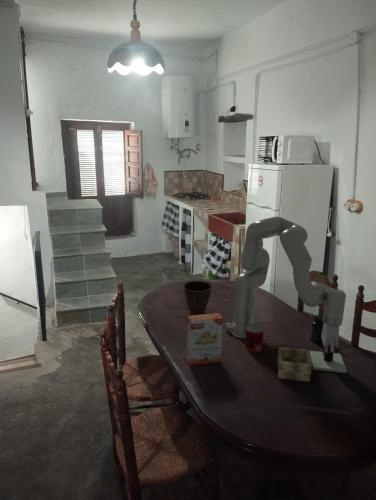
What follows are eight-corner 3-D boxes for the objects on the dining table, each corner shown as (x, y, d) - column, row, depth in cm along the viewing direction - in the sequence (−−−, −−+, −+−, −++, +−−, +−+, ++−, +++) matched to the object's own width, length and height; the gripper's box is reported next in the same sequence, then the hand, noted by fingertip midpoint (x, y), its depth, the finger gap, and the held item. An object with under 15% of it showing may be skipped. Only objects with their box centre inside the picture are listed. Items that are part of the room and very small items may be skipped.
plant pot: (211, 319, 204) (212, 291, 200) (183, 318, 205) (183, 290, 200) (210, 307, 219) (210, 281, 215) (183, 307, 219) (184, 280, 215)
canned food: (263, 346, 178) (264, 325, 175) (260, 355, 171) (262, 333, 168) (246, 343, 180) (248, 322, 177) (243, 352, 173) (244, 330, 170)
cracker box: (189, 366, 161) (190, 321, 155) (186, 359, 167) (187, 315, 161) (221, 362, 164) (223, 318, 159) (217, 355, 170) (218, 312, 164)
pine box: (278, 380, 153) (280, 362, 151) (276, 363, 164) (278, 347, 162) (309, 383, 151) (311, 365, 149) (305, 366, 163) (307, 349, 160)
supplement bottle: (325, 344, 181) (328, 321, 178) (310, 342, 182) (312, 319, 179) (323, 337, 188) (326, 314, 184) (308, 335, 189) (311, 313, 186)
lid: (313, 369, 159) (315, 351, 156) (309, 353, 171) (311, 336, 169) (346, 373, 156) (349, 355, 154) (339, 356, 169) (342, 339, 167)
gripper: (320, 309, 167) (315, 347, 172) (326, 327, 151) (321, 368, 156) (338, 311, 165) (333, 349, 170) (346, 328, 150) (340, 370, 155)
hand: (327, 358), depth 163 cm, fingers closed on lid, 3 cm apart
